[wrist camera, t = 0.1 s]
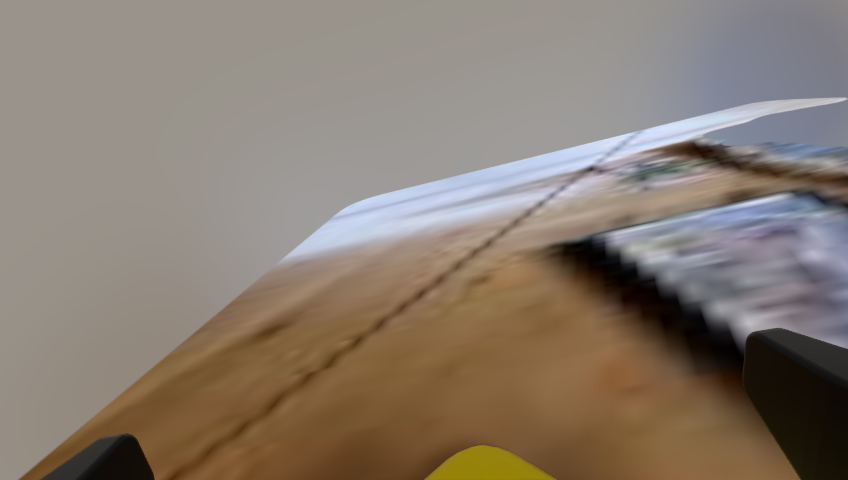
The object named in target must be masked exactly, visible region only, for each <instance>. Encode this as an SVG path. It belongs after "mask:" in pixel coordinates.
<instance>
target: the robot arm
mask: <svg viewBox="0 0 848 480" xmlns="http://www.w3.org/2000/svg"><path fill="white" fill-rule="evenodd" d="M743 386H744V389H745V392H746V394H747V396H748V398H749V400H750V401H751V403H752V404H753V406H754V407H755V409H756V411H757V412H758V414H759V415H760V417H761V418H762V420H763V421H764V423H765V425H766V426H767V428H768V429H769V431H770V432H771V434H772V436H773V437H774V439H775V440H776V442H777V443H778V445H779V446H780V448H781V450H782V451H783V453H784V454H785V456H786V457H787V459H788V460H789V462H790V464H791V465H792V467H793V468H794V470H795V471H796V473H797V474H798V476H799V478H800V479H801V480H848V349H846V348H843V347H839V346H836V345H833V344H830V343H827V342H824V341H821V340H817V339H814V338H811V337H808V336H805V335H802V334H799V333H795V332H792V331H789V330H786V329H782V328H774V329H767V330H761V331H755V332H752V333H751V334H749V335H748V337H747V339H746V344H745V356H744V368H743ZM40 480H154V474H153V472H152V470H151V467H150V465H149V463H148V461H147V459H146V457H145V455H144V453H143V451H142V449H141V446H140V444H139V442H138V440H137V439H136V437H134V436H133V435H132V434H128V433H125V434H118V435H112V436H106V437H102V438H100V439H98V440H96V441H95V442H94V443H92V444H91V445H89V446H88V447H86V448H85V449H83V450H82V451H81V452H79V453H78V454H76V455H75V456H73V457H72V458H70V459H69V460H67V461H66V462H65V463H63V464H62V465H60V466H59V467H57V468H56V469H54V470H53V471H52V472H50V473H49V474H47V475H46V476H44V477H43V478H41V479H40Z"/></svg>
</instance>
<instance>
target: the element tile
mask: <svg viewBox="0 0 848 480" xmlns="http://www.w3.org/2000/svg"><path fill="white" fill-rule="evenodd" d="M424 480H557V479H556V478H554V477H552V476H551V475H549V474H547V473H546V472H544V471H542V470H541V469H539V468H537V467H536V466H534V465H532V464H531V463H529V462H527V461H526V460H524V459H522V458H521V457H519V456H517V455H516V454H514V453H512V452H509V451H507V450H505V449H502V448H498V447H493V446H488V445H479V446H474V447H470V448H467V449H465V450H462V451H460V452H458V453H456V454H454V455H453V456H452V457H450V458H449V459H447V460H446V461H445V462H443V463H442V464H441V465H440V466H439V467H438V468H437V469H436V470H434V471H433V472H432V473H431V474H430V475H429V476H428V477H426V478H425V479H424Z"/></svg>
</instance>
